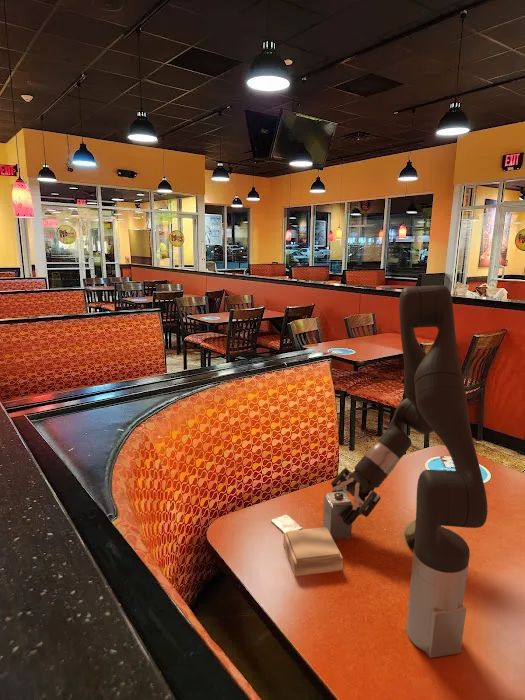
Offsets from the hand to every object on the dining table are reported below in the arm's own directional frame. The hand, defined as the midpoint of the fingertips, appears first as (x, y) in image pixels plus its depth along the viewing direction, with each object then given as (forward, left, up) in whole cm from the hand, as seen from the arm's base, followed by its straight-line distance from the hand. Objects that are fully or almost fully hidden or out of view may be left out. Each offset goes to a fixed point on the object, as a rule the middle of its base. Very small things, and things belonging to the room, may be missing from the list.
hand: (336, 513), depth 115 cm
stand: (-8, +9, -5) cm, 13 cm away
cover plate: (+5, +11, -6) cm, 14 cm away
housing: (0, 0, -5) cm, 5 cm away
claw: (-4, -25, -6) cm, 26 cm away
